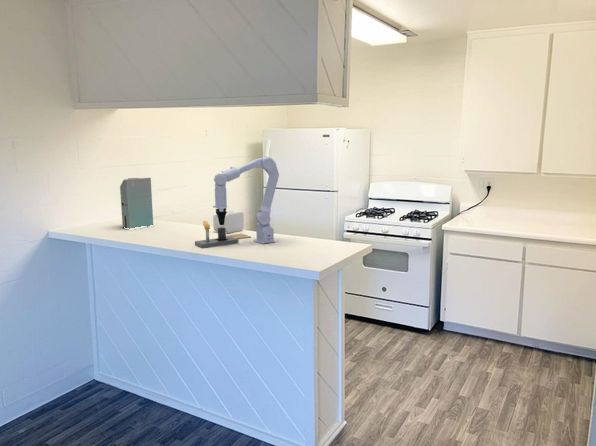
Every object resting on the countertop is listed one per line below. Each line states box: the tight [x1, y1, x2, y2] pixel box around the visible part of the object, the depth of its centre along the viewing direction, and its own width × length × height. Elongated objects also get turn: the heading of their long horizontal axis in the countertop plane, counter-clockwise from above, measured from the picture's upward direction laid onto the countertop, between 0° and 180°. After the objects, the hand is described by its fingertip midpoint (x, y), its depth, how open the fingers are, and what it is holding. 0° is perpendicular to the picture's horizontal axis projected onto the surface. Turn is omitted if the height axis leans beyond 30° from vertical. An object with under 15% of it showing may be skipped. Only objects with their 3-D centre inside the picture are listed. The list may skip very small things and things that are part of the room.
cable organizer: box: [212, 209, 245, 234], centre depth 284 cm, size 15×11×12 cm
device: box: [119, 177, 154, 229], centre depth 296 cm, size 16×8×30 cm, turn 141°
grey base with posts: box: [194, 229, 239, 249], centre depth 250 cm, size 9×20×8 cm, turn 125°
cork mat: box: [226, 233, 252, 240], centre depth 268 cm, size 11×11×1 cm
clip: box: [202, 220, 211, 230], centre depth 252 cm, size 13×3×2 cm, turn 15°
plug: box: [217, 228, 227, 241], centre depth 252 cm, size 4×4×8 cm
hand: (221, 223), depth 251 cm, fingers open, 7 cm apart
